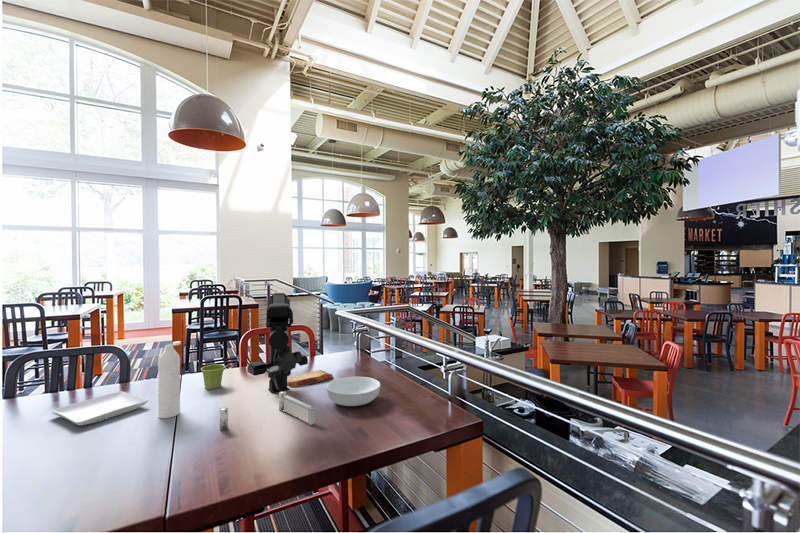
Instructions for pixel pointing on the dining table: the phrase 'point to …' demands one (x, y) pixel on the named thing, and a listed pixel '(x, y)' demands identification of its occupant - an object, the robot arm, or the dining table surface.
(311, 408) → the bar
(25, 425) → the dining table surface
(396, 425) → the dining table surface
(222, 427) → the post
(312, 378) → the bread slice
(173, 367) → the water bottle
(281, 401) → the hinge post
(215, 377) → the plant pot
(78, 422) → the salad plate
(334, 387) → the serving bowl
